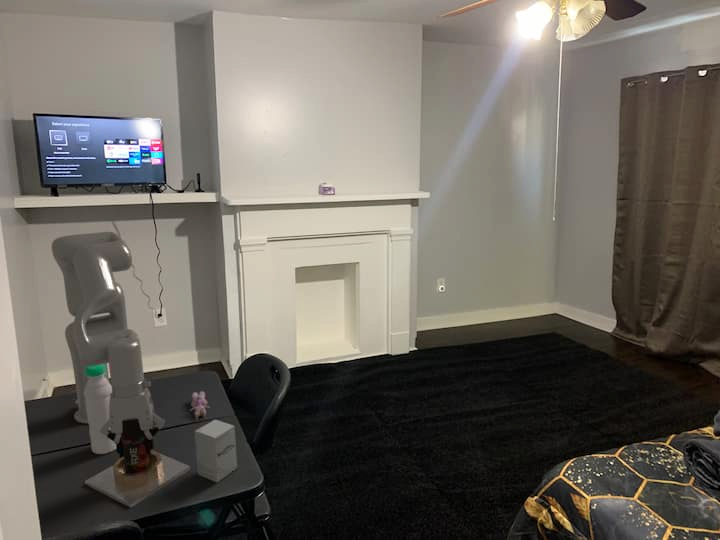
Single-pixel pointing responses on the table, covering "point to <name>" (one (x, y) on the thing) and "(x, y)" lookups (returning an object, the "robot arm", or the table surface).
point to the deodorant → (134, 447)
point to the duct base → (140, 490)
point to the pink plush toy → (199, 404)
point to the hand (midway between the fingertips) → (136, 452)
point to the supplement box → (215, 450)
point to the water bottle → (98, 408)
